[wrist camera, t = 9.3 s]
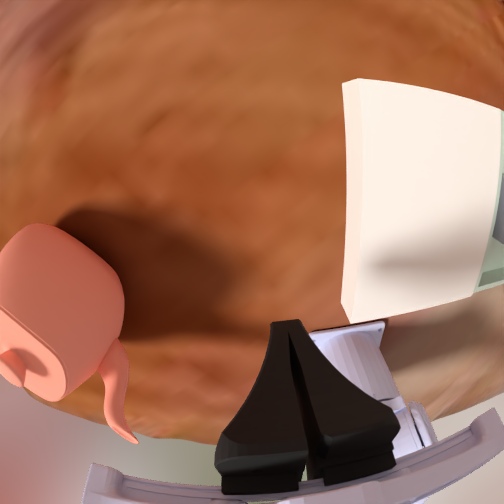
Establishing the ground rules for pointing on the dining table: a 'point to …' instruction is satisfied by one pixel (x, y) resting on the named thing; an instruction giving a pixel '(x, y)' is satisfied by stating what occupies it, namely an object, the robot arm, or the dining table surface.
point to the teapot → (62, 319)
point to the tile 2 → (500, 216)
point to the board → (415, 196)
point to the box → (493, 240)
